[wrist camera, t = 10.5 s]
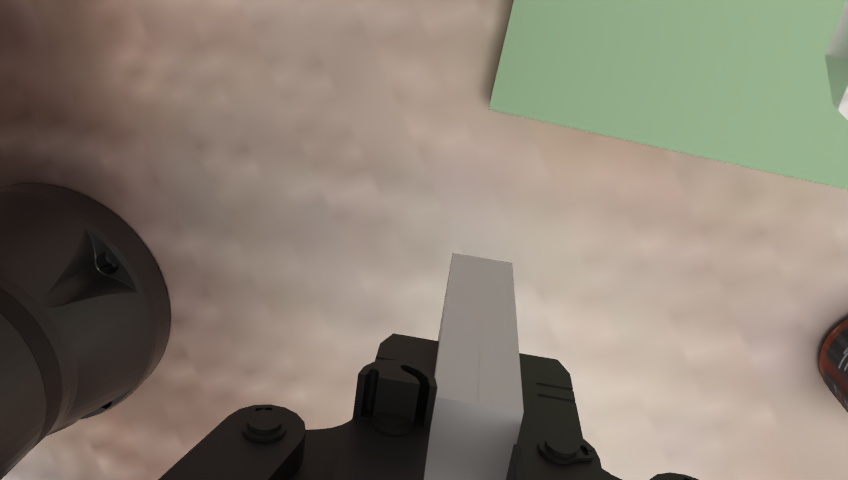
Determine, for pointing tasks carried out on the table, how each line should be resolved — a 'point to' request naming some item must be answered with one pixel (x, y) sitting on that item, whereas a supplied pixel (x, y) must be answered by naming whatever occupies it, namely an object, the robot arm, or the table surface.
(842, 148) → the green
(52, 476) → the table surface
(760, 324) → the table surface
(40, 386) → the robot arm
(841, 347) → the supplement bottle
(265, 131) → the table surface
